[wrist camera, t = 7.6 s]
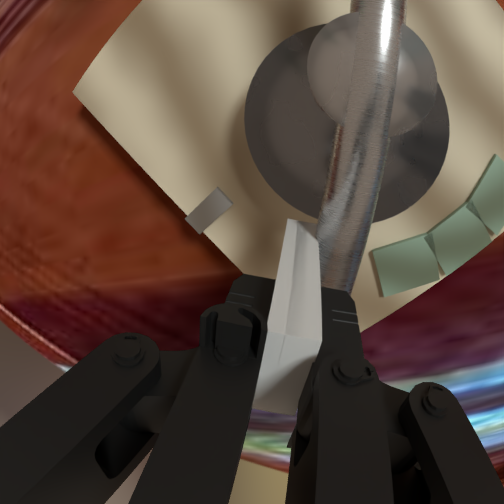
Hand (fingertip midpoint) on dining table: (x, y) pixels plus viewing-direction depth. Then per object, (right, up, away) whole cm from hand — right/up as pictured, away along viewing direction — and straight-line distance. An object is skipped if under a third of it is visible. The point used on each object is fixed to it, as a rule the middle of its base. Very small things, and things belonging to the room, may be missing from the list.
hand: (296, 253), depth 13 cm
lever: (+3, +7, +1) cm, 8 cm away
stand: (+3, +9, +2) cm, 10 cm away
